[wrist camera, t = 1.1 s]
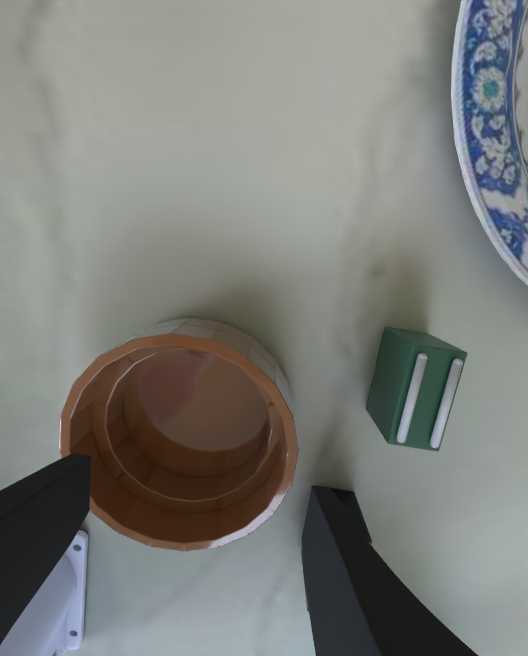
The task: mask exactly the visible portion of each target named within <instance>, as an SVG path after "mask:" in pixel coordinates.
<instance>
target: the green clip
mask: <svg viewBox="0 0 528 656" xmlns="http://www.w3.org/2000/svg"><path fill="white" fill-rule="evenodd" d="M466 356H467V352H465V351H463V350H461V349H459V348H457V347H455V346H452V345H450V344H448V343H446V342H444V341H442V340H440V339H438V338H436V337H434V336H432V335H430V334H427V333H420V332H414V331H407V330H401V329H395V328H388V327H385V330H384V334H383V338H382V342H381V347H380V351H379V355H378V360H377V364H376V368H375V372H374V377H373V381H372V385H371V389H370V394H369V398H368V402H367V407H366V410H367V411H368V413H369V414H370V416H371V418H372V419H373V421H374V422H375V424H376V426H377V427H378V429H379V430H380V432H381V433H382V435H383V437H384V438H385V440H386V441H387V443H388V444H393V445H399V446H406V447H413V448H419V449H426V450H433V451H439V448H440V445H441V441H442V438H443V435H444V431H445V428H446V424H447V421H448V417H449V414H450V411H451V407H452V404H453V400H454V397H455V393H456V390H457V387H458V383H459V380H460V376H461V373H462V369H463V366H464V363H465V359H466Z"/></svg>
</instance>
